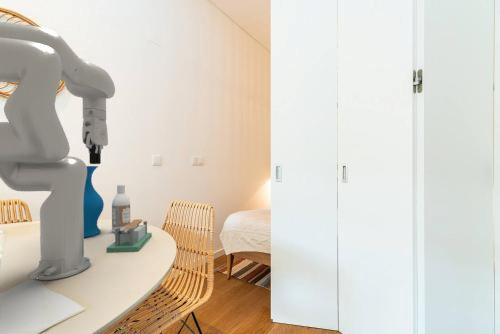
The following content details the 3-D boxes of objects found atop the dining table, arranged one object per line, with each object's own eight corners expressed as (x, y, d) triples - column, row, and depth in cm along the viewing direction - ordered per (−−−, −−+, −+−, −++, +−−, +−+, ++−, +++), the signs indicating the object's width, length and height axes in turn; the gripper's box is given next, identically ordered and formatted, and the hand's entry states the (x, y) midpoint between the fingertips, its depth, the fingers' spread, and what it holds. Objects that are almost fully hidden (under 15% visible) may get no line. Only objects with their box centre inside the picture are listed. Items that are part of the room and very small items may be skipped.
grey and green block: (138, 251, 81) (138, 229, 81) (106, 252, 80) (106, 230, 80) (151, 236, 97) (151, 217, 97) (125, 237, 96) (125, 218, 95)
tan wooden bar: (129, 234, 82) (129, 231, 82) (118, 234, 81) (118, 231, 81) (142, 221, 96) (142, 218, 96) (133, 222, 95) (133, 219, 95)
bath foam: (119, 234, 99) (119, 185, 99) (108, 232, 102) (107, 185, 102) (133, 229, 106) (133, 184, 105) (122, 227, 108) (122, 183, 108)
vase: (110, 231, 103) (110, 166, 102) (84, 240, 91) (83, 166, 90) (88, 229, 106) (87, 165, 105) (59, 238, 94) (58, 166, 93)
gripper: (95, 112, 84) (95, 164, 85) (113, 119, 99) (114, 163, 99) (71, 111, 83) (72, 164, 84) (94, 118, 98) (94, 163, 99)
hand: (95, 163), depth 92 cm, fingers closed
